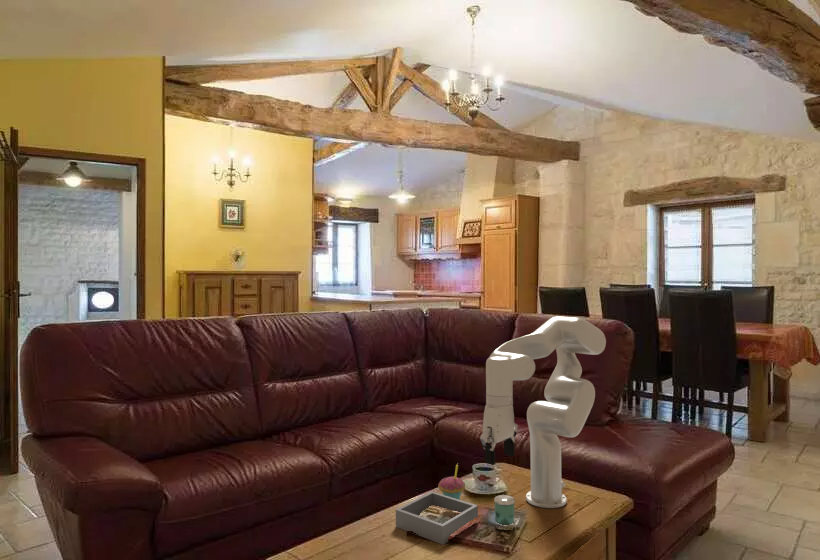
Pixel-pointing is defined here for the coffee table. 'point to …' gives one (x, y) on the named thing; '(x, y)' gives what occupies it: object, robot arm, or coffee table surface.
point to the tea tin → (504, 509)
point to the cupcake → (452, 486)
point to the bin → (430, 529)
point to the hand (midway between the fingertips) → (499, 459)
